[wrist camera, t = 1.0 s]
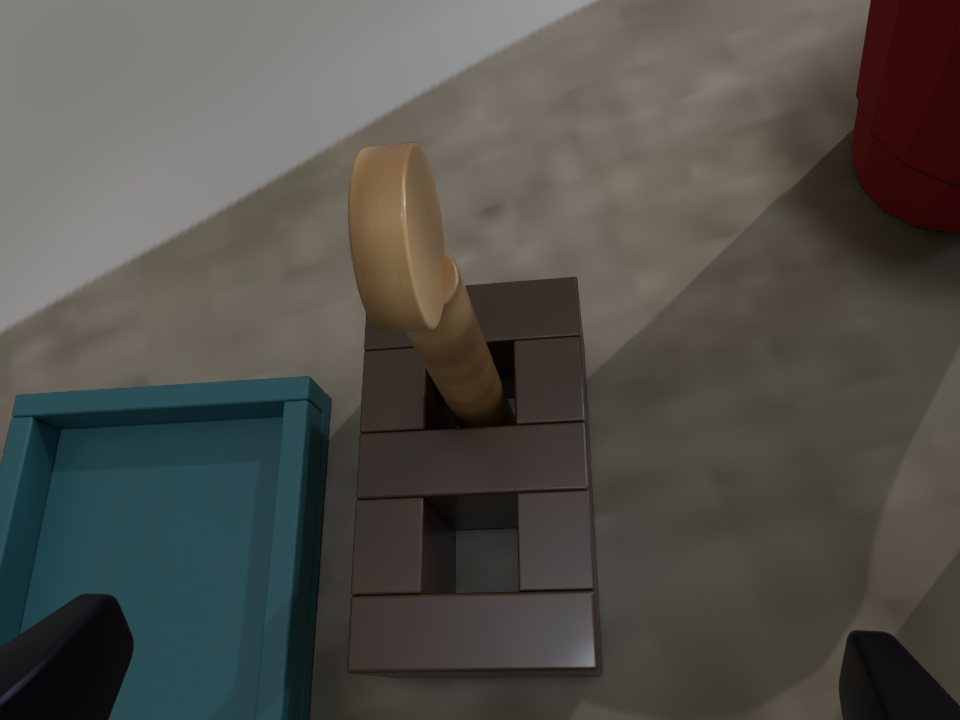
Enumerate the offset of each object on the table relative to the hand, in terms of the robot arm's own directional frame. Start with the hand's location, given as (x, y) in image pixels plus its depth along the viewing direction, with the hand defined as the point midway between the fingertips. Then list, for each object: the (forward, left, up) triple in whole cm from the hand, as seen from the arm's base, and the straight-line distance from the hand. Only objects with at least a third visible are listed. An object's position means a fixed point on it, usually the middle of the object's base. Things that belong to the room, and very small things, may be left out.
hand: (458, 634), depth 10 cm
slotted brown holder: (+4, +3, -14) cm, 15 cm away
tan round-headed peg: (+6, +4, -14) cm, 16 cm away
